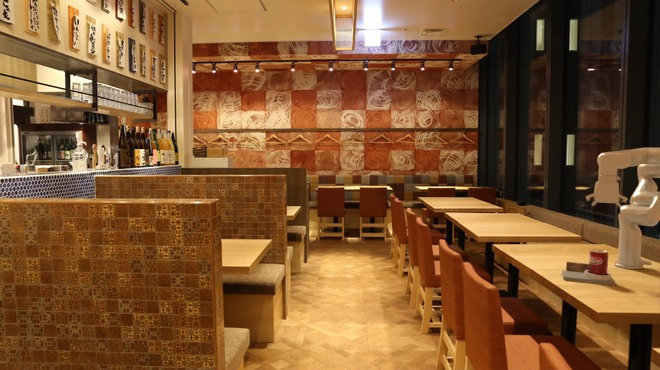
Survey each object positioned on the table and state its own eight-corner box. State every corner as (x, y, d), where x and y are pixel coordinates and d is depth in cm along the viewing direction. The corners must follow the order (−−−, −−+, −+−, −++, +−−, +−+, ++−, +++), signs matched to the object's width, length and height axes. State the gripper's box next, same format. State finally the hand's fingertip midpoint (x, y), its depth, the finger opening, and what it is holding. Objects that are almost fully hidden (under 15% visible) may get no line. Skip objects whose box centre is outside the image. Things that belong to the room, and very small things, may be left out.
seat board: (610, 278, 210) (610, 271, 210) (614, 285, 199) (615, 277, 199) (562, 273, 218) (562, 266, 218) (563, 279, 207) (563, 272, 207)
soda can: (597, 279, 203) (599, 253, 202) (584, 275, 210) (586, 249, 209) (610, 278, 205) (612, 252, 204) (597, 274, 212) (598, 248, 211)
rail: (604, 275, 215) (604, 265, 215) (604, 276, 214) (605, 265, 214) (566, 271, 222) (566, 261, 222) (566, 272, 220) (566, 262, 220)
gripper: (627, 179, 218) (625, 214, 219) (585, 178, 225) (584, 212, 226) (630, 180, 211) (628, 216, 212) (587, 178, 218) (585, 214, 219)
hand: (605, 214), depth 219 cm, fingers open, 9 cm apart
